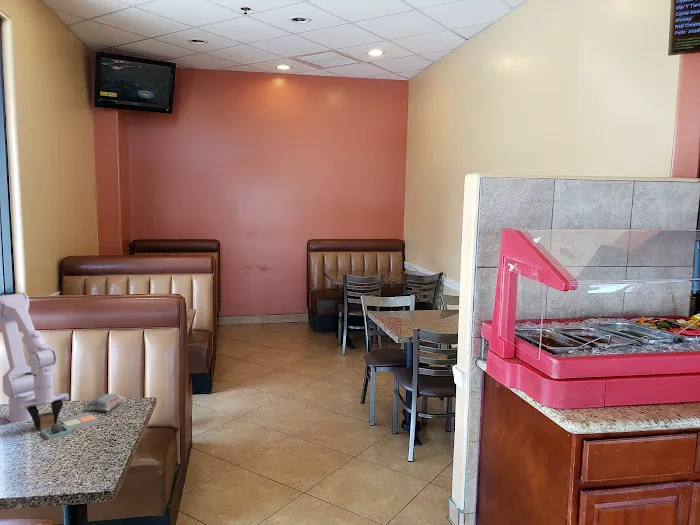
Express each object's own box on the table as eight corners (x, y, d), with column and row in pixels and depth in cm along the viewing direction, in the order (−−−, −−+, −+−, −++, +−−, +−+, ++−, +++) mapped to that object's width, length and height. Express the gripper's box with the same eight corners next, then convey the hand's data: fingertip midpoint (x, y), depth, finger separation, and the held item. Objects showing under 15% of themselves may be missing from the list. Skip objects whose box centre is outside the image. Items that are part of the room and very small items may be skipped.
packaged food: (127, 404, 209) (126, 391, 208) (107, 415, 197) (107, 402, 197) (106, 402, 211) (105, 390, 210) (86, 414, 199) (85, 401, 198)
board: (58, 422, 191) (58, 419, 191) (88, 414, 198) (88, 411, 198) (70, 432, 182) (70, 429, 182) (101, 424, 189) (101, 421, 189)
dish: (41, 434, 180) (41, 430, 180) (64, 428, 185) (64, 424, 185) (48, 441, 175) (48, 436, 175) (71, 435, 180) (71, 430, 180)
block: (37, 429, 185) (36, 414, 184) (50, 426, 188) (49, 411, 187) (41, 432, 182) (40, 418, 182) (54, 429, 185) (53, 415, 184)
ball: (49, 433, 180) (49, 423, 180) (60, 430, 183) (59, 421, 182) (52, 436, 178) (52, 426, 178) (63, 433, 180) (63, 423, 180)
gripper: (22, 393, 175) (25, 434, 177) (71, 383, 186) (73, 422, 187) (16, 388, 180) (18, 428, 182) (64, 378, 191) (65, 416, 192)
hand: (45, 425), depth 185 cm, fingers open, 5 cm apart
